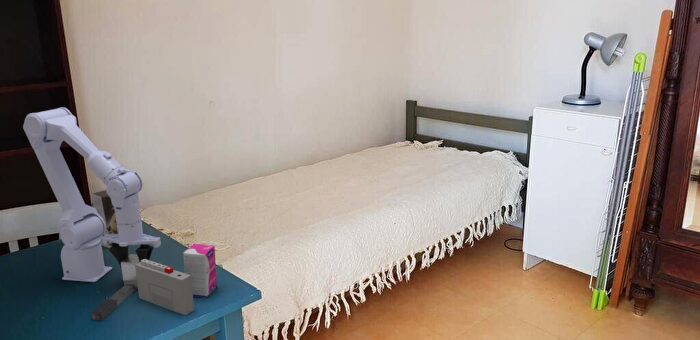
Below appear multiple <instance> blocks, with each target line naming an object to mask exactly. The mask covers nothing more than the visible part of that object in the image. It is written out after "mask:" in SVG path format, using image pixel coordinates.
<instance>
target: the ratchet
mask: <svg viewBox="0 0 700 340" xmlns="http://www.w3.org/2000/svg"><path fill="white" fill-rule="evenodd" d="M135 291H138V284H137V282H136V281H123V286H122V287H120V289H118V290H117V291H116V292H114V294H113V295H112V296H110V297H109V298H106V299H104V301H103V302H101V303H100V304H99V305H98V306H96V307H95V308H94V309H93V310H92V311H91V312H90V314H91V315H90V316H91V320H92V321H101V322H102V321H104V320H105V319H106V318H108V317H109V315H110V314H112V313H113V312H114V311H115V310H116V309H117V308H118V306H119V305H121V304H122V303H123V302H124V301H125V300H126V299H127V298H128V297H129V296H130V295H131V294H133V293H134V292H135Z"/></svg>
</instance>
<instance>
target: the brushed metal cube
mask: <svg viewBox="0 0 700 340" xmlns="http://www.w3.org/2000/svg"><path fill="white" fill-rule="evenodd" d="M138 263H140V262H139V258H138V256H137V254H134V253H131V254H128V257H126V258H125V259H124V260H123V261H121V267H120V269H121V268H122V269H121V273H122V274H121V275H122V281H123V282H124V281H136V282H137V276H136V269H135V265H136V264H138Z"/></svg>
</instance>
